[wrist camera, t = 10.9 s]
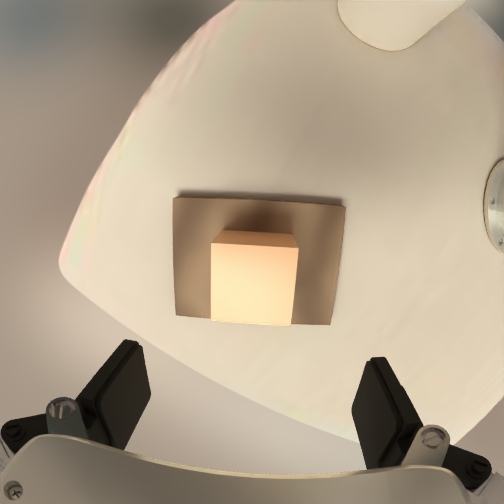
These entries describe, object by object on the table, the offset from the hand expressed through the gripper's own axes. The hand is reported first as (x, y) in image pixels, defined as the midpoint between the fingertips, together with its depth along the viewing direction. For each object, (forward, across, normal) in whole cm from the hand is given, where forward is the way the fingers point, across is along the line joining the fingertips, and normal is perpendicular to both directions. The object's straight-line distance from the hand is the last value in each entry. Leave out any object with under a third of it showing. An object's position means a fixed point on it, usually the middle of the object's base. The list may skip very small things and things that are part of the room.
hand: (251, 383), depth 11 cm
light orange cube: (+17, +1, 0) cm, 17 cm away
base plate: (+18, +1, 0) cm, 18 cm away
